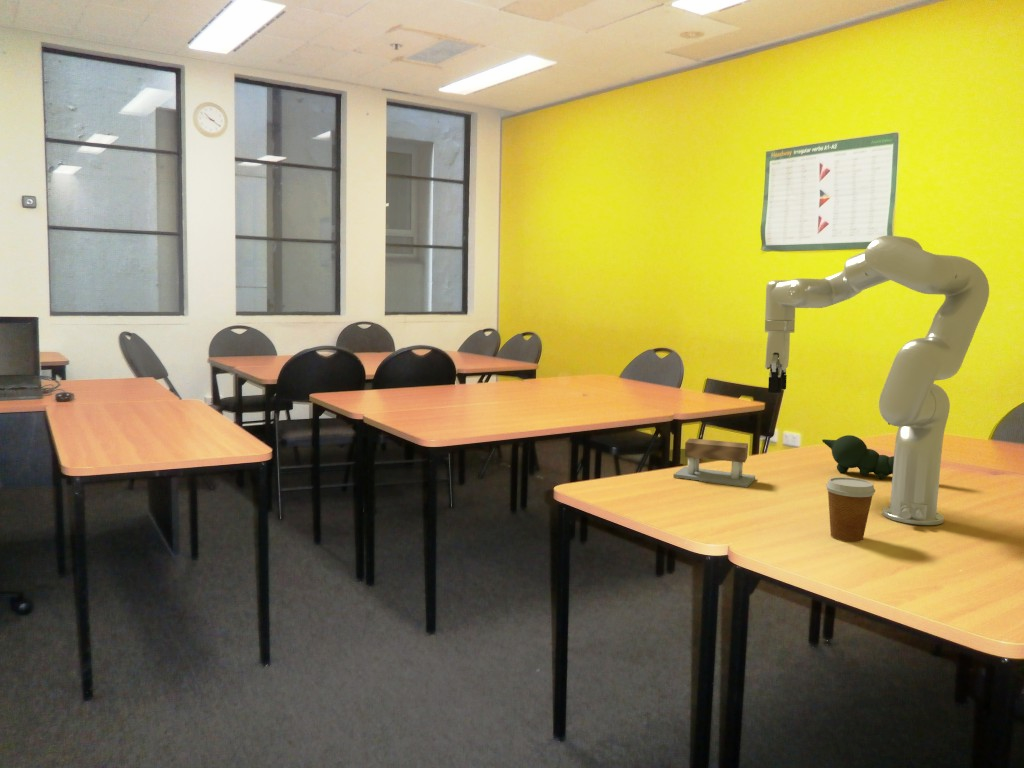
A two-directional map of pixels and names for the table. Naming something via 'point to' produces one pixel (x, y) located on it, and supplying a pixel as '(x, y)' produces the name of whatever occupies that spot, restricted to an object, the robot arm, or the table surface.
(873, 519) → the table surface
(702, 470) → the peg rack
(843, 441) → the toy figurine
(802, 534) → the table surface
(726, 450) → the shelf plank
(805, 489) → the table surface
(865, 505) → the disposable coffee cup
